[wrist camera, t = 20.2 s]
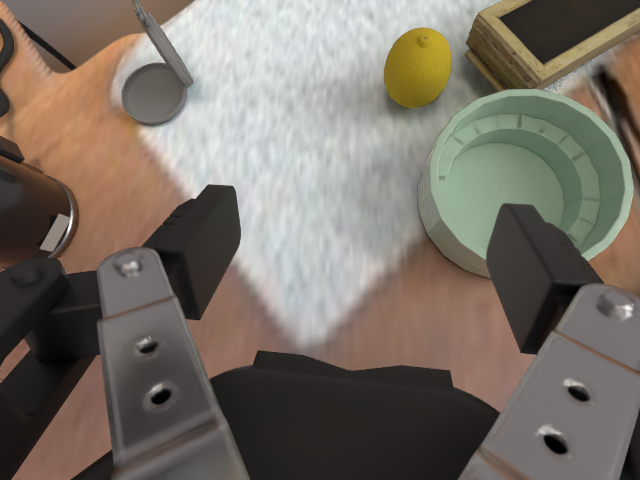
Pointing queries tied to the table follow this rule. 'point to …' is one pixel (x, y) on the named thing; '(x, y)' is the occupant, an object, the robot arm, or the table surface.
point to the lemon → (417, 67)
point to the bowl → (524, 174)
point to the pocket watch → (156, 79)
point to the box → (545, 38)
